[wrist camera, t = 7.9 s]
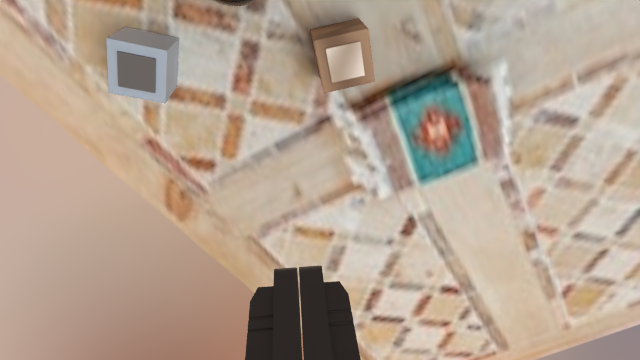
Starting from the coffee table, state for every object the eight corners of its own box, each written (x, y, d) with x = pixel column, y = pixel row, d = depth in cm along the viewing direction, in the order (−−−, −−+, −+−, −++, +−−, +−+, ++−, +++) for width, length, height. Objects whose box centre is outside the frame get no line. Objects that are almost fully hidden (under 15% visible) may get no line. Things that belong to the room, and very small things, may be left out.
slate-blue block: (179, 37, 38) (166, 51, 34) (177, 85, 41) (164, 104, 36) (125, 26, 37) (105, 38, 33) (126, 76, 40) (107, 93, 35)
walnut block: (358, 18, 39) (368, 29, 34) (365, 66, 41) (375, 82, 37) (310, 29, 39) (314, 41, 34) (319, 77, 42) (324, 93, 37)
